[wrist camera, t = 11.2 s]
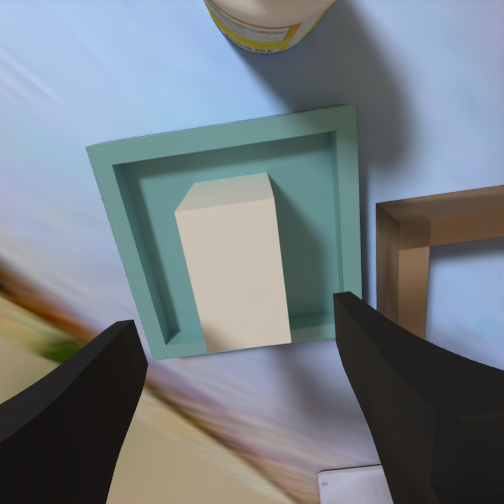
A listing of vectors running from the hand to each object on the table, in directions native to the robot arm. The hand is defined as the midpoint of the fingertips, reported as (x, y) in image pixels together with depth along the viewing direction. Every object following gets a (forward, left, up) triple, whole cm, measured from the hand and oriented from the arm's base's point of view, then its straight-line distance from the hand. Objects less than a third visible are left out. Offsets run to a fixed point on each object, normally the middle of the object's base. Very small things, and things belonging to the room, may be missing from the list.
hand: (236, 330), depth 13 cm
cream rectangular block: (0, 0, -8) cm, 9 cm away
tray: (0, 0, -9) cm, 9 cm away
